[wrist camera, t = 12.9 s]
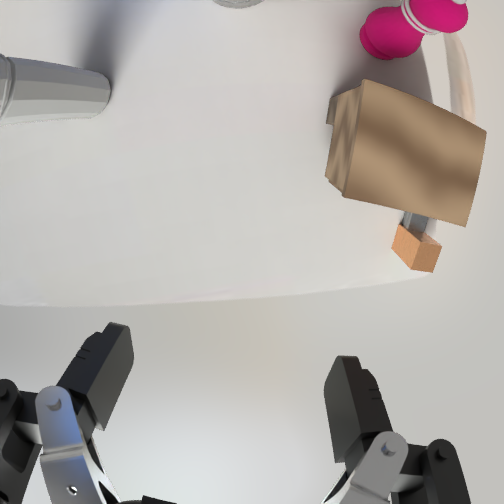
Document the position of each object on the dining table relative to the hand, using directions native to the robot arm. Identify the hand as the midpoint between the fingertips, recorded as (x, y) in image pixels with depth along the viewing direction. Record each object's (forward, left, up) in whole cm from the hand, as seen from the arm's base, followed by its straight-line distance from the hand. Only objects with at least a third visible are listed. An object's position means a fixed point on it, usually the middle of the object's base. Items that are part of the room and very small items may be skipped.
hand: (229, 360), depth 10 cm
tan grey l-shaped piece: (-2, +24, -30) cm, 39 cm away
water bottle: (-12, -26, -30) cm, 42 cm away
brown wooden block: (-9, +15, -30) cm, 35 cm away
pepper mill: (-25, +14, -30) cm, 42 cm away
